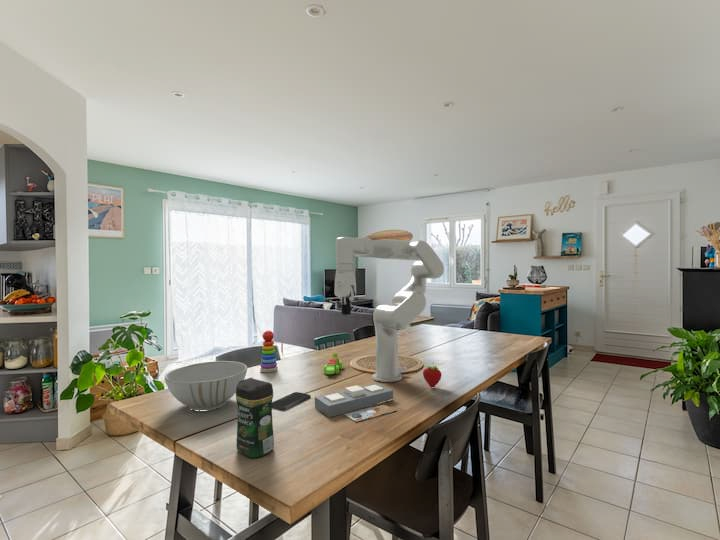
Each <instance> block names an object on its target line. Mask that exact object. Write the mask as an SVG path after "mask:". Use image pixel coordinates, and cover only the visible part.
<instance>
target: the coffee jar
mask: <svg viewBox="0 0 720 540" xmlns="http://www.w3.org/2000/svg"><path fill="white" fill-rule="evenodd" d="M273 399H274V389H273V384H272V382H269V381H264V380H260V379H257V378H253V377H248V378H245V379H244V380H241V381H239V383H238V384H237V386H236V393H235V400H236V406H237V409H236V411H237V413H236V414H237V416H236V418H237V419H236V426H237V427H236V450H237V452H238V453H240V454H241V455H243V456H246V457H248V458H252V459H255V458H260V457H264V456H266V455H268V454H270V453H271V452H272V451H273V450H274V448H275V437H274V436H275V435H274V425H273V408H272V402H273Z"/></svg>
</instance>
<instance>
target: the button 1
mask: <svg viewBox="0 0 720 540" xmlns="http://www.w3.org/2000/svg"><path fill="white" fill-rule="evenodd" d="M325 399H327V400H328V401H330V402H335V401H340V400H344V399H345V397H343V396H342V395H340V394H338V393H336V394H331V395H327V396H325Z"/></svg>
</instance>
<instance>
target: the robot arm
mask: <svg viewBox="0 0 720 540" xmlns="http://www.w3.org/2000/svg"><path fill="white" fill-rule="evenodd" d="M356 257H357V258H358V257H360V258H373V259H374V258H375V259H376V258H377V259H382V260H383V259H384V260H386V259H387V260H400V261H401V260H402V261H414V263H413V264H412V265H411V268H410V274H411V275H410V281H409V282H408V283H407V284H406V285H405V286H403V288H402V289H400V290H399V291H398V292H397V293H395V294H394V295H393V297H392V300H391V304H388V303H387V304H386V303H384V304H379V305H378V306H376V308H375V309H374V310H373V315H372V319H373V324H374V331H375V372H374V373H373V374H372V379H373V380H374V381H376V382H379V381H380V382H381V383H395V382H398V381H401V380H402V379H403V375H402V374H401V373H403V372H407V371H408V368H407V366H400V365H399V337H398V336H399V334H398V330H404V329H405V328H407V327H408V326H410V324H412V323H413V322H414V321H415V320H416V319H417V318H418V317H419V316H420V315H421V314H422V313H423V312H424V310H425V308H426V306H427V298H426V295H425V293H426V291H427V285H426V284H427V283H426V281H427V280H426V279H433V280H434V279H439V278H441V277H442V276H443V274H444V272H445V266H444V263H443V262H442V260H441V259H440V257H439V255H438V254H437V253H436V251H435V250H434V249H433V248H432V246H431V245H430V244H429V243H428V242H427V241H425V240H422V239H421V240H400V239H393V238H386V239H374V240H373V239H372V238H371V237H368V236H367V237H366V236H359V237H352V236H340V237H337V238H336V239H335V268H336V270H335V276H334V292H333V293H334V296H335V297H337V298H338V299H339V300H340V304H341V315H344V316H345V315H346V316H347V315H348V316H349V315H351V306H352V301H354V300H355V297H356V296H357V279H356V265H355V264H356V263H355V262H356Z"/></svg>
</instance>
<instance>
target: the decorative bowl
mask: <svg viewBox="0 0 720 540" xmlns="http://www.w3.org/2000/svg"><path fill="white" fill-rule="evenodd" d="M247 372H248V366H247V365H246V364H245V363H243V362H239V361H230V360H215V361H203V362H196V363H191V364H187V365H183V366H180V367H176V368H174V369H171V370H169V371H168V372H167V373H165V375H164V381H165V384H166V387H167V388H168V390H169V392H170V394H171V395H172V396H173V397H174V398H175V399H176V400H177V401H178V402H180V403H181V404H183V405H184V406H187V407H188V409H189V408H190V409H192V410H191V411H193V410H199V411H198V412H201V411H200V410H210V411H213V410H212V409H214V410H217V409H216V408H218V409H220V408H222V407H224V406H225V405H226V404H227V403H228V401H229V400H230V399H231V398H233V397H234V396H235V395H236V386H237V384H238V383H239V381H241V380H245V379H246V376H247V375H246V374H247ZM223 405H224V406H223ZM221 406H222V407H221ZM219 407H220V408H219ZM190 409H189V410H190Z"/></svg>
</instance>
